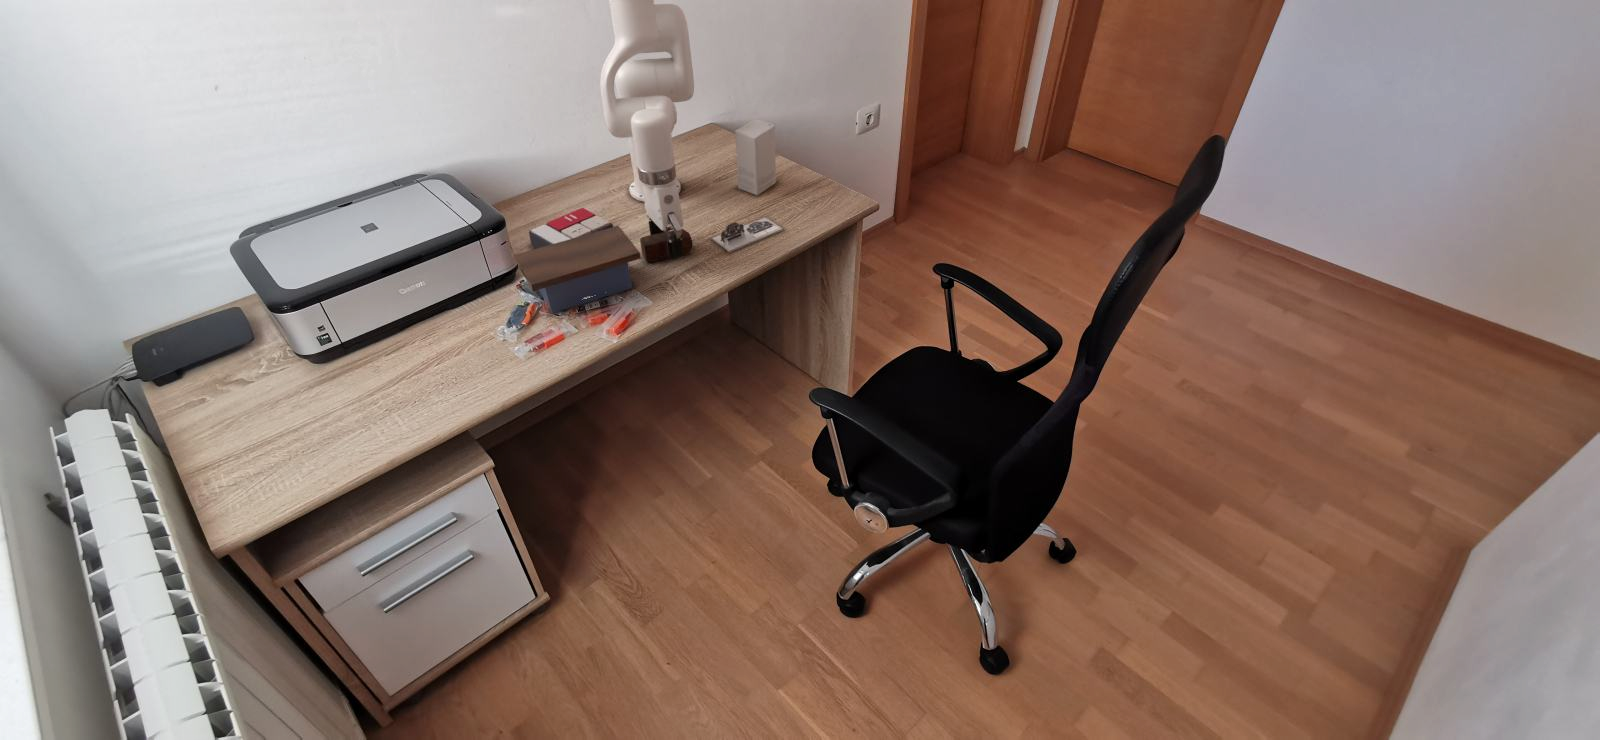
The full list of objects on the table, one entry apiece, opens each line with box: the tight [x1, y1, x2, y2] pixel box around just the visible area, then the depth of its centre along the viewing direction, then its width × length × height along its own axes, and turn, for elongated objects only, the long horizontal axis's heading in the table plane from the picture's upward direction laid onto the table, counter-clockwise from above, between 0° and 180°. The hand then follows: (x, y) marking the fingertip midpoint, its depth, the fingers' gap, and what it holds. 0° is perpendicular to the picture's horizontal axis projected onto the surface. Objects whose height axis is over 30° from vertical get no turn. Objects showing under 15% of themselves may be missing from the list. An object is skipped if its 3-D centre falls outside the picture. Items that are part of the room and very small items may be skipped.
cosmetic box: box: [734, 118, 777, 196], centre depth 183 cm, size 8×7×16 cm
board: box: [513, 225, 642, 292], centre depth 150 cm, size 12×22×2 cm, turn 121°
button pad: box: [528, 207, 614, 249], centre depth 167 cm, size 11×4×15 cm
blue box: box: [538, 262, 633, 314], centre depth 153 cm, size 10×17×7 cm, turn 121°
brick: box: [639, 228, 694, 263], centre depth 163 cm, size 11×4×5 cm, turn 116°
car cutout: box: [712, 216, 783, 253], centre depth 169 cm, size 15×7×4 cm, turn 129°
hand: (666, 245), depth 163 cm, fingers open, 9 cm apart
